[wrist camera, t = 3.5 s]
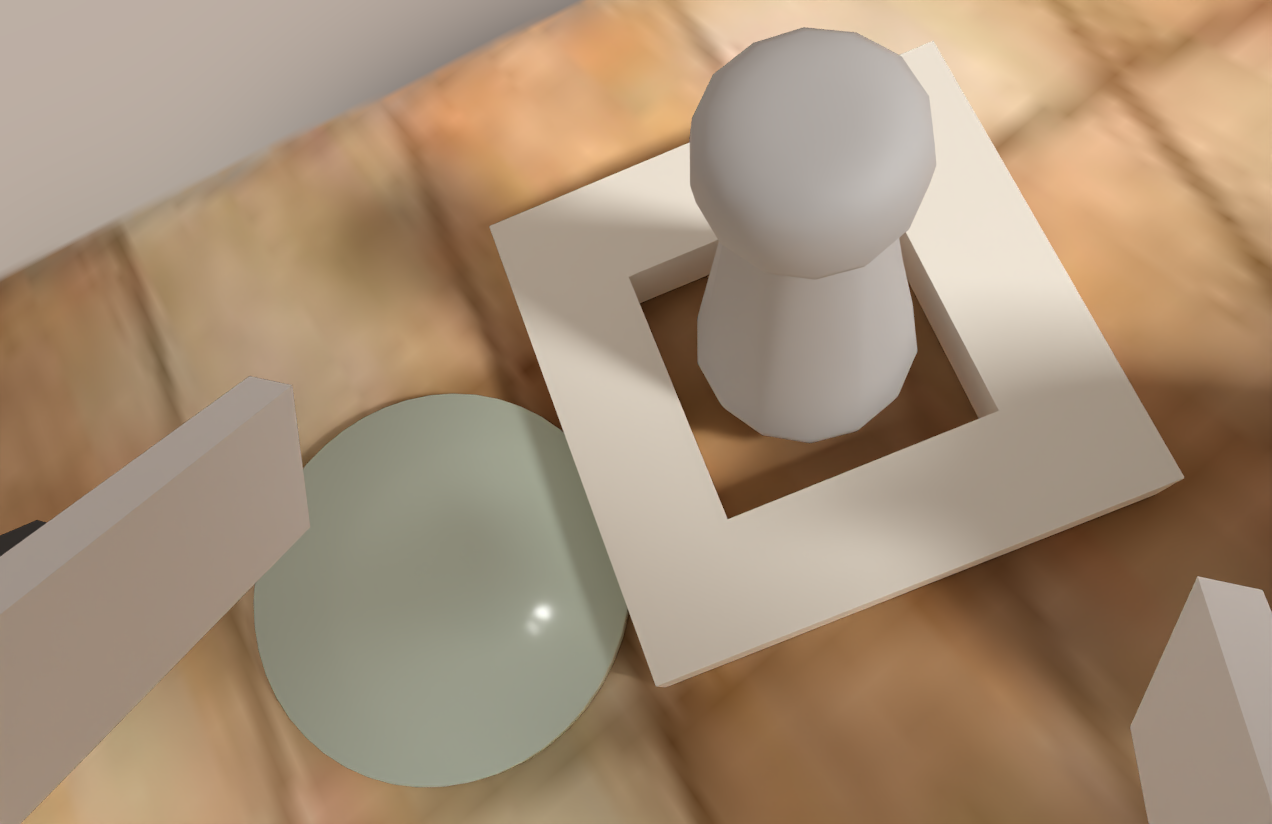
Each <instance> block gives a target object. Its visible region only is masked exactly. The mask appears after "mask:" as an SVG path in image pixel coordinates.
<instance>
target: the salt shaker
mask: <svg viewBox="0 0 1272 824" xmlns="http://www.w3.org/2000/svg"><path fill="white" fill-rule="evenodd" d="M935 168H936V154H935V143H934V134H933V125H932V117H931V108H930V99H929V95H928V94H927V92H926V91H925V90H924V88H923V87H922V85H921V84H920V82H919V81H918V79H917V78H916V76H915V75H914V74H913V72H912V71H911V69H910V68H909V66H908V65H907V63H906V62H905V61H904V59H903V58H902V56H900V55H898V54H896V53H894V52H892V51H891V50H889V49H887V48H885V47H883V46H881V45H879V44H877V43H875V42H873V41H871V40H869V39H868V38H866V37H864V36H862V35H860V34H858V33H855V32H845V31H835V30H825V29H814V28H800V29H797V30H794V31H791V32H787V33H784V34H781V35H778V36H774V37H771V38H768V39H765V40H762V41H758V42H755V43H753V44H751V45H750V46H749V47H748V48H746V49H745V50H744V51H742V52H741V53H740V54H739V55H737V56H736V57H735V58H734V59H732V60H731V61H730V62H728V63H727V64H726V65H725V66H723V67H722V68H721V69H720V70H718V71H717V72H716V73H715V74H713V76H712V78H711V80H710V82H709V84H708V86H707V88H706V90H705V92H704V94H703V96H702V99H701V101H700V103H699V105H698V107H697V109H696V111H695V113H694V115H693V117H692V122H691V130H690V187H691V190H692V193H693V196H694V199H695V202H696V204H697V205H698V207H699V209H700V210H701V212H702V214H703V215H704V217H705V219H706V220H707V222H708V224H709V225H710V227H711V229H712V230H713V232H714V234H715V235H716V237H717V239H718V240H719V242H718V246H717V250H716V253H715V257H714V260H713V264H712V267H711V271H710V275H709V278H708V282H707V285H706V289H705V293H704V296H703V300H702V303H701V307H700V311H699V314H698V318H697V356H698V365H699V367H700V369H701V370H702V372H703V374H704V376H705V377H706V379H707V381H708V383H709V384H710V386H711V388H712V390H713V392H714V393H715V395H716V397H717V399H718V400H719V402H720V404H721V405H722V406H723V407H724V408H725V409H726V410H727V411H729V412H730V413H732V414H733V415H735V416H736V417H737V418H739V419H740V420H742V421H743V422H744V423H746V424H747V425H749V426H750V427H751V428H753V429H754V430H756V431H757V432H758V433H760V434H761V435H764V436H770V437H776V438H782V439H787V440H793V441H799V442H805V443H814V442H818V441H821V440H825V439H829V438H833V437H837V436H840V435H844V434H848V433H852V432H856V431H858V430H859V429H860V428H862V427H863V426H864V425H865V424H866V423H868V422H869V421H870V420H871V419H872V418H874V417H875V416H876V415H877V414H878V413H879V412H881V411H882V410H883V409H884V408H885V407H887V406H888V405H889V404H890V403H891V402H893V401H894V400H895V399H896V398H897V396H898V395H899V393H900V390H901V388H902V386H903V383H904V381H905V379H906V377H907V374H908V372H909V370H910V367H911V365H912V363H913V360H914V358H915V356H916V353H917V342H916V332H915V322H914V312H913V303H912V299H911V295H910V290H909V286H908V281H907V277H906V272H905V268H904V263H903V259H902V252H901V246H900V240H899V237H901V236H902V235H903V234H904V233H905V232H906V231H908V230H909V228H910V226H911V224H912V222H913V220H914V217H915V215H916V213H917V211H918V209H919V206H920V204H921V202H922V200H923V198H924V195H925V193H926V191H927V189H928V187H929V184H930V182H931V179H932V176H933V173H934V171H935Z"/></svg>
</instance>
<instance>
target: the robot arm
mask: <svg viewBox="0 0 1272 824" xmlns="http://www.w3.org/2000/svg"><path fill="white" fill-rule="evenodd" d="M309 528H310V521H309V513H308V505H307V497H306V489H305V481H304V473H303V465H302V458H301V450H300V442H299V434H298V426H297V418H296V410H295V402H294V395H293V387H292V385H289V384H284V383H280V382H275V381H270V380H265V379H261V378H256V377H251V376H249V377H247V378H246V379H245V380H243V381H242V382H241V383H239V384H238V385H236V386H235V387H234V388H232V389H231V390H229V391H228V392H227V393H225V394H224V395H223V396H221V397H220V398H218V399H217V400H216V401H214V402H213V403H212V404H210V405H209V406H207V407H206V408H205V409H203V410H202V411H200V412H199V413H198V414H196V415H195V416H194V417H192V418H191V419H189V420H188V421H187V422H185V423H184V424H183V425H181V426H180V427H178V428H177V429H176V430H174V431H173V432H171V433H170V434H169V435H167V436H166V437H165V438H163V439H162V440H160V441H159V442H158V443H156V444H155V445H154V446H152V447H151V448H149V449H148V450H147V451H145V452H144V453H143V454H141V455H140V456H138V457H137V458H136V459H134V460H133V461H131V462H130V463H129V464H127V465H126V466H125V467H123V468H122V469H120V470H119V471H118V472H116V473H115V474H114V475H112V476H111V477H109V478H108V479H107V480H105V481H104V482H102V483H101V484H100V485H98V486H97V487H96V488H94V489H93V490H91V491H90V492H89V493H87V494H86V495H85V496H83V497H82V498H80V499H79V500H78V501H76V502H75V503H73V504H72V505H71V506H69V507H68V508H67V509H65V510H64V511H62V512H61V513H60V514H58V515H57V516H56V517H54V518H53V519H51V520H50V521H49V522H47V523H46V522H42V521H38V520H36V521H34V522H31V523H29V524H26V525H24V526H22V527H19V528H17V529H15V530H12V531H10V532H8V533H5V534H3V535H1V536H0V824H21V823H22V822H23V821H24V820H25V818H26V817H27V816H28V815H29V814H30V813H31V812H32V811H33V810H34V809H35V808H36V807H37V806H38V805H39V804H40V803H41V802H42V801H43V800H44V799H45V798H46V797H47V796H48V795H49V794H50V793H51V792H52V791H53V790H54V789H55V788H56V787H57V786H58V785H59V784H60V783H61V782H62V781H63V780H64V779H65V778H66V777H67V776H68V774H69V773H70V772H71V771H72V770H73V769H74V768H75V767H76V766H77V765H78V764H79V763H80V762H81V761H82V760H83V759H84V758H85V757H86V756H87V755H88V754H89V753H90V752H91V751H92V750H93V749H94V748H95V747H96V746H97V745H98V744H99V743H100V742H101V741H102V740H103V739H104V738H105V737H106V736H107V735H108V734H109V733H110V732H111V730H112V729H113V728H114V727H115V726H116V725H117V724H118V723H119V722H120V721H121V720H122V719H123V718H124V717H125V716H126V715H127V714H128V713H129V712H130V711H131V710H132V709H133V708H134V707H135V706H136V705H137V704H138V703H139V702H140V701H141V700H142V699H143V698H144V697H145V696H146V695H147V694H148V693H149V692H150V691H151V690H152V689H153V687H154V686H155V685H156V684H157V683H158V682H159V681H160V680H161V679H162V678H163V677H164V676H165V675H166V674H167V673H168V672H169V671H170V670H171V669H172V668H173V667H174V666H175V665H176V664H177V663H178V662H179V661H180V660H181V659H182V658H183V657H184V656H185V655H186V654H187V653H188V652H189V651H190V650H191V649H192V648H193V647H194V646H195V645H196V643H197V642H198V641H199V640H200V639H201V638H202V637H203V636H204V635H205V634H206V633H207V632H208V631H209V630H210V629H211V628H212V627H213V626H214V625H215V624H216V623H217V622H218V621H219V620H220V619H221V618H222V617H223V616H224V615H225V614H226V613H227V612H228V611H229V610H230V609H231V608H232V607H233V606H234V605H235V604H236V603H237V602H238V601H239V599H240V598H241V597H242V596H243V595H244V594H245V593H246V592H247V591H248V590H249V589H250V588H251V587H252V586H253V585H254V584H255V583H256V582H257V581H258V580H259V579H260V578H261V577H262V576H263V575H264V574H265V573H266V572H267V571H268V570H269V569H270V568H271V567H272V566H273V565H274V564H275V563H276V562H277V561H278V560H279V559H280V558H281V556H282V555H283V554H284V553H285V552H286V551H287V550H288V549H289V548H290V547H291V546H292V545H293V544H294V543H295V542H296V541H297V540H298V539H299V538H300V537H301V536H302V535H303V534H304V533H305V532H306V531H307V530H308V529H309ZM1130 729H1131V735H1132V740H1133V745H1134V750H1135V755H1136V761H1137V766H1138V771H1139V776H1140V781H1141V787H1142V792H1143V797H1144V802H1145V807H1146V812H1147V818H1148V823H1149V824H1272V612H1271V609H1270V607H1269V604H1268V602H1267V599H1266V597H1265V595H1264V592H1263V590H1261V589H1256V588H1251V587H1246V586H1242V585H1237V584H1232V583H1227V582H1223V581H1218V580H1213V579H1208V578H1204V577H1199V576H1197V579H1196V581H1195V583H1194V585H1193V587H1192V590H1191V592H1190V594H1189V596H1188V599H1187V601H1186V603H1185V605H1184V608H1183V610H1182V612H1181V614H1180V616H1179V619H1178V621H1177V623H1176V625H1175V628H1174V630H1173V632H1172V634H1171V637H1170V639H1169V641H1168V643H1167V645H1166V648H1165V650H1164V652H1163V654H1162V657H1161V659H1160V661H1159V663H1158V666H1157V668H1156V670H1155V672H1154V674H1153V677H1152V679H1151V681H1150V683H1149V686H1148V688H1147V690H1146V692H1145V695H1144V697H1143V699H1142V701H1141V703H1140V706H1139V708H1138V710H1137V712H1136V715H1135V717H1134V719H1133V721H1132V724H1131V726H1130Z"/></svg>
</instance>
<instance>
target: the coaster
mask: <svg viewBox="0 0 1272 824" xmlns="http://www.w3.org/2000/svg"><path fill="white" fill-rule="evenodd" d="M303 473H304V481H305V489H306V497H307V505H308V513H309V521H310V528H309V529H308V530H307V531H306V532H305V533H304V534H303V535H302V536H301V537H300V538H299V539H298V540H297V541H296V542H295V543H294V544H293V545H292V546H291V547H290V548H289V549H288V550H287V551H286V552H285V553H284V554H283V555H282V556H281V558H280V559H279V560H278V561H277V562H276V563H275V564H274V565H273V566H272V567H271V568H270V569H269V570H268V571H267V572H266V573H265V574H264V575H263V576H262V577H261V578H260V579H259V580H258V581H257V582H256V583H255V590H254V624H255V632H256V638H257V644H258V650H259V654H260V657H261V660H262V663H263V667H264V670H265V673H266V676H267V678H268V680H269V683H270V685H271V687H272V689H273V691H274V694H275V696H276V698H277V699H278V701H279V703H280V704H281V706H282V707H283V709H284V710H285V712H286V714H287V715H288V717H289V718H290V720H291V721H292V722H293V723H294V724H295V725H296V727H297V728H298V729H299V730H300V731H301V732H302V734H303V735H304V736H305V737H306V738H307V739H308V740H309V741H311V742H312V743H313V744H314V745H315V746H316V747H317V748H318V749H320V750H321V751H322V752H323V753H324V754H326V755H327V756H329V757H330V758H332V759H334V760H335V761H337V762H338V763H340V764H341V765H343V766H344V767H346V768H348V769H351V770H353V771H355V772H357V773H360V774H362V775H364V776H366V777H369V778H372V779H376V780H379V781H383V782H387V783H390V784H395V785H403V786H411V787H445V786H451V785H457V784H463V783H469V782H473V781H477V780H480V779H483V778H487V777H490V776H493V775H496V774H499V773H502V772H504V771H506V770H508V769H510V768H513V767H515V766H517V765H519V764H521V763H523V762H525V761H527V760H528V759H530V758H531V757H533V756H534V755H536V754H537V753H539V752H541V751H542V750H544V749H545V748H547V747H548V746H549V745H550V744H552V743H553V742H554V741H555V740H556V739H557V738H559V737H560V736H561V735H562V734H563V733H564V732H566V731H567V730H568V729H569V728H570V727H571V725H572V724H573V723H574V722H575V721H576V720H577V719H578V718H579V717H580V715H581V714H582V713H583V712H584V711H585V710H586V709H587V707H588V706H589V704H590V703H591V701H592V700H593V698H594V697H595V696H596V694H597V693H598V691H599V690H600V688H601V687H602V685H603V683H604V681H605V679H606V677H607V675H608V673H609V671H610V670H611V668H612V666H613V664H614V661H615V659H616V656H617V653H618V650H619V648H620V645H621V642H622V640H623V636H624V632H625V628H626V623H627V619H628V615H629V611H628V608H627V605H626V602H625V600H624V597H623V594H622V591H621V589H620V586H619V583H618V580H617V578H616V575H615V572H614V569H613V567H612V564H611V561H610V558H609V556H608V553H607V550H606V547H605V545H604V542H603V539H602V536H601V533H600V531H599V528H598V525H597V522H596V520H595V517H594V514H593V511H592V509H591V506H590V503H589V500H588V498H587V495H586V492H585V489H584V487H583V484H582V481H581V478H580V476H579V473H578V470H577V467H576V465H575V462H574V459H573V456H572V453H571V451H570V448H569V445H568V442H567V440H566V437H565V434H564V432H562V431H561V430H560V429H559V428H557V427H556V426H554V425H553V424H551V423H550V422H548V421H547V420H545V419H544V418H543V417H541V416H539V415H537V414H535V413H533V412H531V411H529V410H527V409H525V408H523V407H521V406H518V405H515V404H512V403H509V402H506V401H503V400H500V399H496V398H490V397H485V396H480V395H470V394H441V395H429V396H424V397H419V398H415V399H410V400H406V401H403V402H400V403H397V404H394V405H391V406H388V407H385V408H383V409H381V410H379V411H377V412H375V413H373V414H371V415H368V416H366V417H364V418H362V419H361V420H359V421H358V422H356V423H355V424H353V425H351V426H350V427H348V428H347V429H345V430H344V431H342V432H341V433H340V434H339V435H337V436H336V437H335V438H334V439H332V440H331V441H330V442H329V443H328V444H326V445H325V446H324V447H323V448H322V449H321V450H320V451H319V452H318V453H317V454H316V455H315V456H314V457H313V458H312V459H311V460H310V461H309V462H308V463H307V464H306V466H305V467H304V468H303Z"/></svg>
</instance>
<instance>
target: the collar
mask: <svg viewBox="0 0 1272 824" xmlns="http://www.w3.org/2000/svg"><path fill="white" fill-rule="evenodd" d="M900 56H902V58H903V59H904V61H905V62H906V63H907V65H908V66H909V68H910V69H911V71H912V72H913V74H914V75H915V76H916V78H917V79H918V81H919V82H920V84H921V85H922V87H923V88H924V90H925V91H926V92H927V94H928V95H929V99H930V108H931V117H932V125H933V134H934V143H935V154H936V168H935V171H934V173H933V176H932V179H931V182H930V184H929V187H928V189H927V191H926V193H925V195H924V198H923V200H922V202H921V204H920V206H919V209H918V211H917V213H916V215H915V217H914V220H913V222H912V224H911V226H910V228H909V230H908V231H906V232H905V233H904V234H903V235H902V236H901V237H899V240H900V246H901V252H902V259H903V263H904V268H905V272H906V277H907V280H908V282H909V284H910V286H911V288H912V290H913V292H914V294H915V296H916V297H917V299H918V301H919V303H920V305H921V307H922V309H923V311H924V313H925V315H926V317H927V319H928V321H929V323H930V325H931V327H932V329H933V331H934V333H935V334H936V336H937V338H938V340H939V342H940V344H941V346H942V348H943V350H944V352H945V354H946V356H947V358H948V360H949V362H950V364H951V366H952V368H953V370H954V371H955V373H956V375H957V377H958V379H959V381H960V383H961V385H962V387H963V389H964V391H965V393H966V395H967V397H968V399H969V401H970V403H971V405H972V407H973V408H974V410H975V412H976V414H977V416H978V418H979V419H977V420H974V421H972V422H969V423H967V424H964V425H962V426H959V427H957V428H954V429H952V430H949V431H947V432H944V433H942V434H939V435H937V436H934V437H932V438H929V439H927V440H924V441H922V442H919V443H917V444H914V445H912V446H909V447H907V448H904V449H902V450H899V451H897V452H894V453H892V454H889V455H887V456H884V457H882V458H879V459H877V460H874V461H872V462H869V463H867V464H864V465H862V466H859V467H857V468H855V469H852V470H850V471H847V472H845V473H842V474H840V475H837V476H835V477H832V478H830V479H827V480H825V481H822V482H820V483H817V484H815V485H812V486H810V487H807V488H805V489H802V490H800V491H797V492H795V493H792V494H790V495H787V496H785V497H782V498H780V499H777V500H775V501H772V502H770V503H767V504H765V505H762V506H760V507H757V508H755V509H752V510H750V511H747V512H745V513H742V514H740V515H737V516H735V517H732V518H730V519H727V516H726V514H725V511H724V509H723V506H722V504H721V502H720V499H719V497H718V494H717V492H716V489H715V487H714V484H713V482H712V480H711V477H710V475H709V472H708V470H707V467H706V465H705V462H704V460H703V457H702V455H701V453H700V450H699V448H698V445H697V443H696V440H695V438H694V435H693V433H692V431H691V428H690V426H689V423H688V421H687V418H686V416H685V413H684V411H683V409H682V406H681V404H680V401H679V399H678V396H677V394H676V391H675V389H674V386H673V384H672V382H671V379H670V377H669V374H668V372H667V369H666V367H665V364H664V362H663V360H662V357H661V355H660V352H659V350H658V347H657V345H656V342H655V340H654V338H653V335H652V333H651V330H650V328H649V325H648V323H647V320H646V318H645V316H644V313H643V311H642V308H641V306H640V303H642V302H644V301H647V300H649V299H652V298H654V297H656V296H659V295H661V294H664V293H666V292H669V291H671V290H673V289H676V288H678V287H681V286H683V285H686V284H688V283H690V282H693V281H695V280H698V279H700V278H703V277H705V276H707V275H710V271H711V267H712V264H713V260H714V257H715V253H716V250H717V246H718V242H719V240H718V239H717V237H716V235H715V234H714V232H713V230H712V229H711V227H710V225H709V224H708V222H707V220H706V219H705V217H704V215H703V214H702V212H701V210H700V209H699V207H698V205H697V204H696V202H695V199H694V196H693V193H692V190H691V187H690V143H687V144H685V145H682V146H680V147H678V148H675V149H673V150H670V151H668V152H666V153H663V154H661V155H658V156H656V157H654V158H651V159H649V160H646V161H644V162H642V163H639V164H637V165H634V166H632V167H630V168H627V169H625V170H622V171H620V172H618V173H615V174H613V175H611V176H608V177H606V178H603V179H601V180H599V181H596V182H594V183H591V184H589V185H587V186H584V187H582V188H579V189H577V190H575V191H572V192H570V193H567V194H565V195H563V196H560V197H558V198H555V199H553V200H551V201H548V202H546V203H543V204H541V205H539V206H536V207H534V208H531V209H529V210H527V211H524V212H522V213H519V214H517V215H515V216H512V217H510V218H508V219H505V220H503V221H500V222H498V223H496V224H493V225H491V226H489V227H490V230H491V233H492V236H493V238H494V241H495V244H496V247H497V249H498V252H499V255H500V258H501V260H502V263H503V266H504V269H505V271H506V274H507V277H508V280H509V282H510V285H511V288H512V291H513V294H514V296H515V299H516V302H517V305H518V307H519V310H520V313H521V316H522V318H523V321H524V324H525V327H526V329H527V332H528V335H529V338H530V340H531V343H532V346H533V349H534V351H535V354H536V357H537V360H538V362H539V365H540V368H541V371H542V374H543V376H544V379H545V382H546V385H547V387H548V390H549V393H550V396H551V398H552V401H553V404H554V407H555V409H556V412H557V415H558V418H559V420H560V423H561V426H562V429H563V431H564V434H565V437H566V440H567V442H568V445H569V448H570V451H571V453H572V456H573V459H574V462H575V465H576V467H577V470H578V473H579V476H580V478H581V481H582V484H583V487H584V489H585V492H586V495H587V498H588V500H589V503H590V506H591V509H592V511H593V514H594V517H595V520H596V522H597V525H598V528H599V531H600V533H601V536H602V539H603V542H604V545H605V547H606V550H607V553H608V556H609V558H610V561H611V564H612V567H613V569H614V572H615V575H616V578H617V580H618V583H619V586H620V589H621V591H622V594H623V597H624V600H625V602H626V605H627V608H628V611H629V613H630V616H631V619H632V622H633V624H634V627H635V630H636V633H637V636H638V638H639V641H640V644H641V647H642V649H643V652H644V655H645V658H646V660H647V663H648V666H649V669H650V671H651V674H652V677H653V680H654V682H655V685H656V686H657V687H668V686H671V685H673V684H676V683H678V682H681V681H684V680H686V679H689V678H691V677H694V676H696V675H699V674H701V673H704V672H706V671H709V670H711V669H714V668H717V667H719V666H722V665H724V664H727V663H729V662H732V661H734V660H737V659H739V658H742V657H744V656H747V655H750V654H752V653H755V652H757V651H760V650H762V649H765V648H767V647H770V646H772V645H775V644H777V643H780V642H783V641H785V640H788V639H790V638H793V637H795V636H798V635H800V634H803V633H805V632H808V631H810V630H813V629H815V628H818V627H821V626H823V625H826V624H828V623H831V622H833V621H836V620H838V619H841V618H843V617H846V616H848V615H851V614H854V613H856V612H859V611H861V610H864V609H866V608H869V607H871V606H874V605H876V604H879V603H881V602H884V601H887V600H889V599H892V598H894V597H897V596H899V595H902V594H904V593H907V592H909V591H912V590H914V589H917V588H920V587H922V586H925V585H927V584H930V583H932V582H935V581H937V580H940V579H942V578H945V577H947V576H950V575H953V574H955V573H958V572H960V571H963V570H965V569H968V568H970V567H973V566H975V565H978V564H980V563H983V562H985V561H988V560H991V559H993V558H996V557H998V556H1001V555H1003V554H1006V553H1008V552H1011V551H1013V550H1016V549H1018V548H1021V547H1024V546H1026V545H1029V544H1031V543H1034V542H1036V541H1039V540H1041V539H1044V538H1046V537H1049V536H1051V535H1054V534H1057V533H1059V532H1062V531H1064V530H1067V529H1069V528H1072V527H1074V526H1077V525H1079V524H1082V523H1084V522H1087V521H1090V520H1092V519H1095V518H1097V517H1100V516H1102V515H1105V514H1107V513H1110V512H1112V511H1115V510H1117V509H1120V508H1123V507H1125V506H1128V505H1130V504H1133V503H1135V502H1138V501H1140V500H1143V499H1145V498H1148V497H1150V496H1153V495H1156V494H1158V493H1159V492H1161V491H1163V490H1165V489H1166V488H1168V487H1170V486H1171V485H1173V484H1175V483H1177V482H1178V481H1180V480H1182V479H1184V478H1185V477H1184V476H1183V474H1182V472H1181V470H1180V469H1179V467H1178V465H1177V463H1176V462H1175V460H1174V458H1173V456H1172V455H1171V453H1170V451H1169V449H1168V448H1167V446H1166V444H1165V443H1164V441H1163V439H1162V437H1161V436H1160V434H1159V432H1158V430H1157V429H1156V427H1155V425H1154V423H1153V422H1152V420H1151V418H1150V416H1149V415H1148V413H1147V411H1146V410H1145V408H1144V406H1143V404H1142V403H1141V401H1140V399H1139V397H1138V396H1137V394H1136V392H1135V390H1134V389H1133V387H1132V385H1131V383H1130V382H1129V380H1128V378H1127V376H1126V375H1125V373H1124V371H1123V370H1122V368H1121V366H1120V364H1119V363H1118V361H1117V359H1116V357H1115V356H1114V354H1113V352H1112V350H1111V349H1110V347H1109V345H1108V343H1107V342H1106V340H1105V338H1104V337H1103V335H1102V333H1101V331H1100V330H1099V328H1098V326H1097V324H1096V323H1095V321H1094V319H1093V317H1092V316H1091V314H1090V312H1089V310H1088V309H1087V307H1086V305H1085V303H1084V302H1083V300H1082V298H1081V297H1080V295H1079V293H1078V291H1077V290H1076V288H1075V286H1074V284H1073V283H1072V281H1071V279H1070V277H1069V276H1068V274H1067V272H1066V270H1065V269H1064V267H1063V265H1062V264H1061V262H1060V260H1059V258H1058V257H1057V255H1056V253H1055V251H1054V250H1053V248H1052V246H1051V244H1050V243H1049V241H1048V239H1047V237H1046V236H1045V234H1044V232H1043V230H1042V229H1041V227H1040V225H1039V224H1038V222H1037V220H1036V218H1035V217H1034V215H1033V213H1032V211H1031V210H1030V208H1029V206H1028V204H1027V203H1026V201H1025V199H1024V197H1023V196H1022V194H1021V192H1020V191H1019V189H1018V187H1017V185H1016V184H1015V182H1014V180H1013V178H1012V177H1011V175H1010V173H1009V171H1008V170H1007V168H1006V166H1005V164H1004V163H1003V161H1002V159H1001V157H1000V156H999V154H998V152H997V151H996V149H995V147H994V145H993V144H992V142H991V140H990V138H989V137H988V135H987V133H986V131H985V130H984V128H983V126H982V124H981V123H980V121H979V119H978V118H977V116H976V114H975V112H974V111H973V109H972V107H971V105H970V104H969V102H968V100H967V98H966V97H965V95H964V93H963V91H962V90H961V88H960V86H959V84H958V83H957V81H956V79H955V78H954V76H953V74H952V72H951V71H950V69H949V67H948V65H947V64H946V62H945V60H944V58H943V57H942V55H941V53H940V51H939V50H938V48H937V46H936V45H935V43H934V41H932V42H929V43H927V44H924V45H922V46H920V47H917V48H915V49H912V50H910V51H908V52H905V53H903V54H900Z"/></svg>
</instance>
